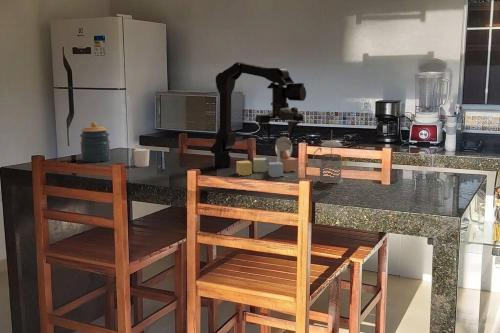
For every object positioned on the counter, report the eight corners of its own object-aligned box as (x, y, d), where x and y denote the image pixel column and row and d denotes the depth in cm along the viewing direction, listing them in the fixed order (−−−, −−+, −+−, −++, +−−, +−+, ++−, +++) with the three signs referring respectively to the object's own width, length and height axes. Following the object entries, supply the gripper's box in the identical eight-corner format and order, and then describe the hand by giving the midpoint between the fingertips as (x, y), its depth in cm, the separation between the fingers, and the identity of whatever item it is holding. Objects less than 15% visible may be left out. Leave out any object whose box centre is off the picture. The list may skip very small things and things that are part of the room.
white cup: (151, 164, 244) (151, 148, 243) (147, 167, 238) (147, 150, 236) (136, 164, 245) (136, 148, 244) (131, 166, 238) (131, 150, 237)
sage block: (253, 172, 227) (253, 160, 226) (253, 169, 232) (253, 157, 231) (265, 172, 226) (265, 160, 226) (265, 169, 231) (265, 157, 230)
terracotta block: (286, 172, 226) (286, 160, 225) (280, 170, 231) (280, 158, 230) (297, 171, 228) (297, 159, 227) (291, 169, 232) (291, 157, 231)
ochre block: (239, 175, 219) (239, 163, 218) (236, 173, 224) (236, 161, 223) (251, 175, 221) (251, 162, 220) (248, 172, 225) (248, 160, 225)
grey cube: (270, 177, 216) (270, 164, 215) (268, 174, 221) (268, 162, 220) (283, 177, 217) (283, 164, 216) (281, 174, 222) (281, 162, 221)
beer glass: (285, 170, 237) (285, 154, 224) (272, 161, 239) (271, 145, 226) (295, 158, 239) (295, 142, 226) (282, 150, 241) (281, 133, 228)
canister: (79, 159, 258) (76, 121, 254) (107, 157, 263) (105, 119, 260) (83, 163, 246) (81, 124, 243) (113, 161, 251) (111, 122, 248)
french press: (343, 184, 203) (345, 115, 199) (311, 183, 205) (312, 115, 201) (344, 178, 213) (346, 113, 208) (313, 177, 215) (315, 112, 210)
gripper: (266, 102, 208) (266, 143, 211) (310, 100, 215) (309, 140, 218) (254, 100, 218) (254, 140, 221) (297, 99, 225) (296, 137, 228)
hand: (279, 139), depth 222 cm, fingers open, 9 cm apart
